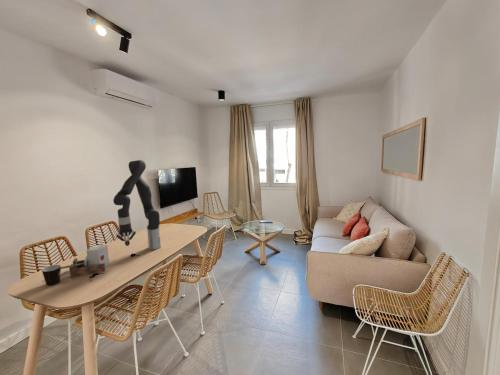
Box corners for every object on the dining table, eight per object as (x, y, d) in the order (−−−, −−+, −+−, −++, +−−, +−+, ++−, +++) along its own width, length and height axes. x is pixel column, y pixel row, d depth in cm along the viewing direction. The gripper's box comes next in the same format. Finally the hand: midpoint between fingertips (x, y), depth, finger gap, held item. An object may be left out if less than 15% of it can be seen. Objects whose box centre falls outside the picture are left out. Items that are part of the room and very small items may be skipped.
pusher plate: (90, 265, 156) (88, 255, 154) (87, 272, 146) (86, 261, 145) (58, 272, 147) (56, 260, 146) (53, 279, 138) (51, 267, 137)
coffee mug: (51, 279, 139) (49, 264, 137) (66, 279, 139) (64, 264, 138) (35, 290, 127) (33, 274, 126) (51, 289, 128) (49, 273, 127)
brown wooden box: (106, 262, 162) (106, 253, 161) (104, 271, 149) (103, 261, 148) (75, 268, 153) (74, 258, 153) (70, 278, 140) (69, 267, 139)
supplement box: (100, 271, 149) (98, 250, 147) (88, 270, 150) (85, 250, 148) (109, 264, 158) (107, 244, 156) (98, 264, 159) (95, 244, 157)
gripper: (134, 219, 164) (137, 241, 167) (114, 223, 158) (117, 245, 160) (135, 222, 158) (138, 245, 160) (113, 225, 151) (117, 249, 154)
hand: (127, 245), depth 160 cm, fingers closed
